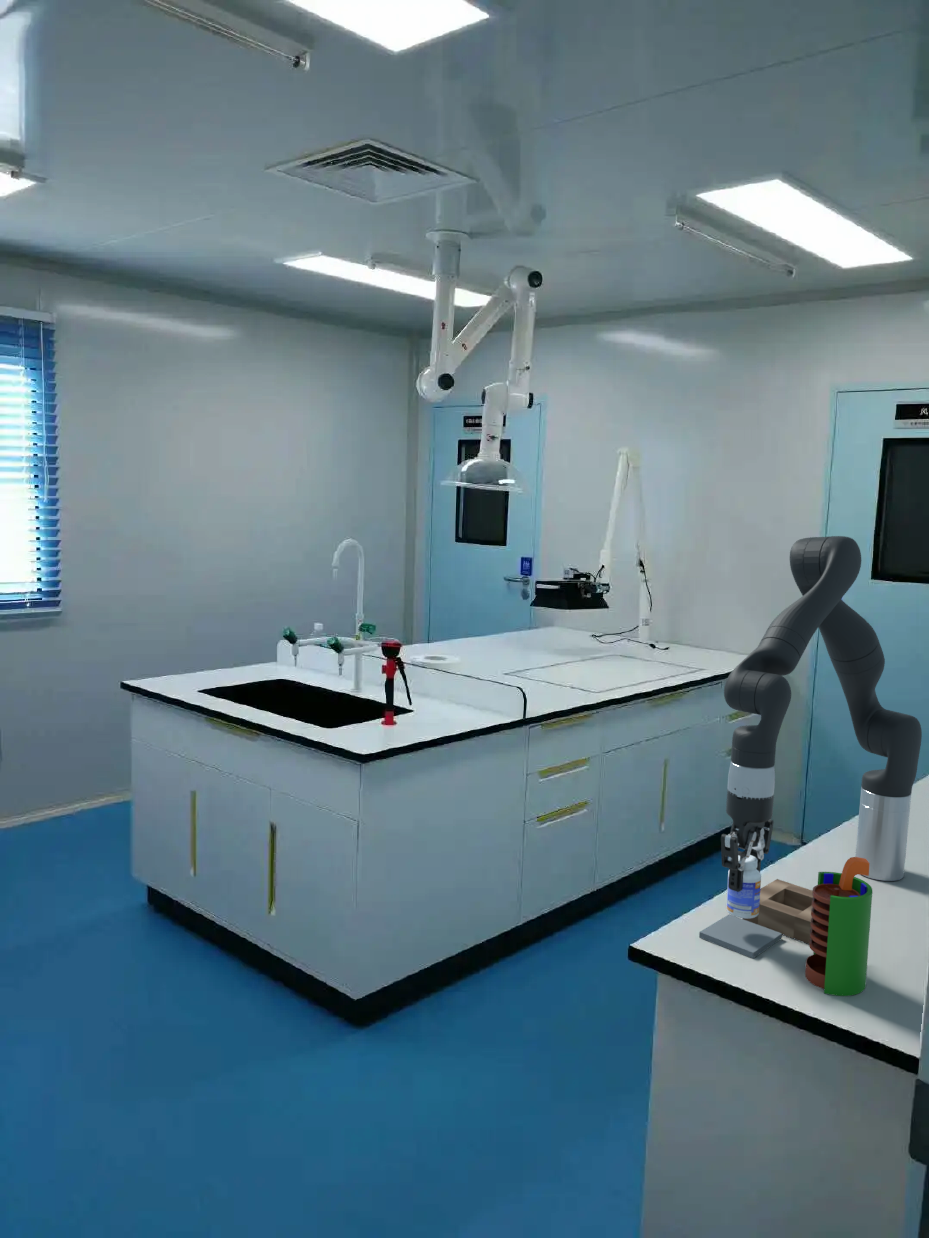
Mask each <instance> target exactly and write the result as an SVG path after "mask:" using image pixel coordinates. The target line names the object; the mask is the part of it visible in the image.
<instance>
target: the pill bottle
mask: <svg viewBox="0 0 929 1238" xmlns="http://www.w3.org/2000/svg"><path fill="white" fill-rule="evenodd" d="M739 860H740V856H739V855H738V862H739ZM757 866H758V865H757V858H756V857H755V856H752V855H750V856H749V858H746V861H745V864H744V868H743V870H744V872H743V886H742V890H741V891H740V892H737V891H734V890H731V889H729V887H728V886H727V889H726V890H727V892H726V893H727V894H726V908H725V909H726V911H727V913H728V915H729V914H730V915H733V916H735V917H738V918H741V919H742V918H745V919H750V918H754V917H756V916H758V914H759V904H760V889H761V888H762V887H761V883H762V874H761V871H760V872H759V871H758V870H757V869H756V868H757ZM727 873H728V874H727V885H728V884H729V870H728V872H727Z"/></svg>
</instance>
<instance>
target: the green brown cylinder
mask: <svg viewBox="0 0 929 1238" xmlns="http://www.w3.org/2000/svg"><path fill="white" fill-rule="evenodd" d="M869 864H870V863H869V862H868V861H867V860H866V859H864V858H859V857H855V856H852V857H849V858H848V859H847V860H846V861H845V863H844V865H843V868H842V871H841V872H836V871H835V872H833V871H818V872H817V873H818V874H817V884H816V885H815V886H813V887H812V890H813V892H812V894H813V896H814V897H813V898H812V906H813V908H812V909H811V916H812V918H811V923H810V925H811V929H810V937H811V938H810V940H809V944H808V945H809V946H808V947H809V949H810V950H811V951H812V954H811V955H809V956H807V958H806V959H805V966H804V967H805V969H804V970H805V971H804V975H805V978H806V980H807V981H808V982H809V983H810V984H812V985H813V986H815V987H817V988H820V989H822V990H823V993H824V994H827V995H829V996H830V995H831V996H836V997H837V996H838V997H849V996H850V997H851V996H856V995H858V994H861V993H862V992H863V991H864V990H865V989H866V983H867V969H868V959H869V957H868V956H869V944H870V943H869V942H870V932H871V931H870V929H871V928H870V927H871V916H872V905H873V904H872V902H873V888H872V886H871V885H870V884H869V883H868V882H867V881H865V880H863V879H861V878H858V877H856V876H857V875H861V876H863V875H866V876H869ZM866 876H865V877H866Z"/></svg>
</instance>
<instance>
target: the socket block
mask: <svg viewBox="0 0 929 1238" xmlns="http://www.w3.org/2000/svg"><path fill="white" fill-rule="evenodd" d="M812 892H813V889H809V888H806V887H803V886H800V885H797V884H793V883H791V882H789V881H784V880H782V879H778V878H776V879H775V880H773V881H771V882H768V884H766V885H763V886H762V887H760V904H759V914H758V916H756V917H754V918H750V919H745V918H741V919H744V920H746V921H749V922H752V923H755V924H757V925H760V926H763V927H766V928H768V929H771V930H774V931H777V932H779V933H782V934H784V935H783V936H785V937H788V938H792V939H793V938H795V939H794V940H796V939H797V940H796V941H800V942H801V943H805V944H808V945H809V940H810V938H811V937H810V929H811V925H810V923H811V918H812V916H811V909H812V908H813V906H812V898H813V897H814V896H813V894H812Z"/></svg>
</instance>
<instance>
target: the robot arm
mask: <svg viewBox="0 0 929 1238" xmlns="http://www.w3.org/2000/svg"><path fill="white" fill-rule="evenodd" d="M789 551H790V552H789V566H790V570H791V575H792V577H793V579H794V582H795V584H796V586H797V588H798V589H799V592H800V593H801V595H802V596H801V597H799V598H798V599H797V600H795V601H794V602H793V603H791V604H790V605H789V606H787V607H785V609H783V610H782V611H781V612H780V613H779V614H778V615H777V616H776V617H775V618H773V620H772V621H771V622H770V624H769V625H768V628H766V631H765V633H764V635H763V637H762V638H761V640H760V642H759V644H758V645H757V647H756V648H755V649H754V650H752V652H750V653H749V654H748V655H747V656H746V657H745V658H744V659H743V660H742V661H741V662H740V663H738V665H736V666H735V667H734V668H733V670H732V671H731V672H730V673H729V674H728V677H727V679H726V681H725V683H724V687H723V696H724V700H725V703H726V704H727V706H728V707H729V708H731V709H733V710H734V711H735V710H736V711H739V712H744V713H748V714H754V715H758V716H760V720H759V723H758V724H749V725H747V724H746V725H740V726H738V727H736V728H735V729H734V730H733V733H732V737H731V740H732V741H731V750H730V751H731V753H730V765H729V768H728V775H727V788H726V802H725V803H726V805H725V812H726V814H727V816H729V817H730V819H732V824H731V828H730V833H728V834H726V833H722V834H721V836H720V848H721V849H720V850H721V851H720V854H721V866H722V867H723V868H727V869H728V871H729V884H728V883H727V888H728V887H729V889H731V890H734V891H737V892H740V891H741V890H742V886H743V872H744V870H743V868H744V864H745V861H746V858H749V856H750V855H752V856H755V857H756V858H757V865H758V866H757V868H756V869H757V870H758V871H759V872H760V873H761V868H762V867H761V866H762V861H763V860H764V858H765V855H764V854H766V855H768V854H769V852H770V847H771V840H772V834H773V828H774V823H775V822H774V819H772V818H773V812H774V811H773V810H774V798H775V797H774V796H775V786H776V772H775V771H776V770H775V763H776V751H777V750H776V749H777V741H778V737H779V733H780V731H781V728H782V724H783V721H784V719H785V717H786V714H787V711H788V709H789V706H790V704H791V700H792V689H791V685H790V683H789V682H788V679H786V677H784V676H786V675H787V676H788V675H789V674H791V673H793V671H795V669H796V668H797V666H798V664H799V662H800V661H801V658H802V657H803V655H804V653H805V650H806V649H807V647H808V645H809V643H810V641H811V639H812V638H813V637H814V635H815V633H816V632H817V630H818V629H819V632H820V635H821V636H822V641H823V643H824V645H825V647H826V651H827V654H828V656H829V659H830V661H831V664H832V666H833V668H834V670H835V673H836V675H837V678H838V681H839V683H840V686H841V688H842V692H843V695H844V697H845V701H846V703H847V707H848V710H849V714H850V718H851V721H852V726H853V729H854V734H855V737H856V739H857V742H858V744H859V746H860V747H861V748H862V749H864V751H867V752H868V753H871V754H872V755H873V754H874V755H877V756H881V757H883V758H887V759H886V760H887V761H886V766H885V768H881V769H871V770H867V771H865V772H864V773H863V774H862V778H861V787H860V796H859V797H860V798H859V809H858V810H859V812H858V819H857V820H858V821H857V834H856V845H855V846H856V847H855V856H854V857H859V858H864V859H866V860H867V861H868V862H869V863H870V864H869V876H866V875H862V876H864V877H866V878H869V879H873V880H878V881H885V882H893V881H899V880H901V879H903V878H904V876H905V865H906V859H907V858H906V857H907V844H908V834H909V824H910V813H911V804H912V803H911V802H912V801H911V800H912V791H913V787H914V783H915V781H916V779H917V778H916V777H917V772H918V771H917V770H918V763H919V757H920V752H921V746H922V737H923V736H922V725H921V722H920V721H919V719H918V718H917V717H915V716H913V715H911V714H907V713H903V712H898V711H894V710H889V709H885V708H884V707H883V706H882V705H881V703H880V701H879V699H878V696H877V692H876V687H877V685H878V683H879V681H880V679H881V677H882V675H883V672H884V669H885V664H886V661H885V660H886V659H885V655H884V651H883V649H882V646H881V644H880V640H879V638H878V636H877V633H876V631H875V629H874V628H873V627H872V625H871V624H870V623H869V622H868V621H867V620H866V619H865V618H864V617H863V616H862V615H860V614H859V613H858V612H857V611H856V610H855V609H853V608H852V607H851V606H849V605H848V604H847V603H846V602H845V601H844V600H843V599H842V598H843V597H844V596H845V595H846V594H847V592H848V591H849V590H850V588H851V587H852V586H853V585H854V583H855V581H856V580H857V578H858V575H859V574H860V571H861V568H862V551H861V549H860V546H859V545H858V543H857V541H856V540H855V538H854V539H853V538H852V537H850V536H844V535H832V536H812V537H811V536H810V537H805V538H804V537H803V538H800V539H798V540H796V541H795V542H794V543H793V544H792V546H791V549H790V550H789ZM739 849H741V850H744V851H740V850H739ZM738 855H739V856H740V860H739V862H738Z"/></svg>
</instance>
